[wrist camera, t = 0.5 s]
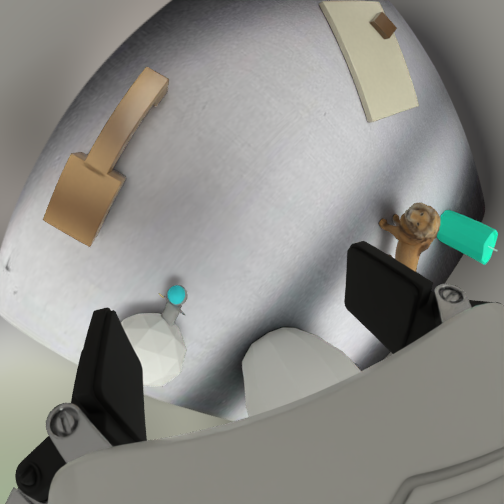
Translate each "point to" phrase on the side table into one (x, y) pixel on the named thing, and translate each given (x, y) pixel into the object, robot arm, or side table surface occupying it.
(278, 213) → the side table surface
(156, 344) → the perfume bottle
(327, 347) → the vase
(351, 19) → the tile
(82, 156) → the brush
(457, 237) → the candle
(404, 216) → the lion figurine
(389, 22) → the mud flake
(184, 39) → the side table surface
